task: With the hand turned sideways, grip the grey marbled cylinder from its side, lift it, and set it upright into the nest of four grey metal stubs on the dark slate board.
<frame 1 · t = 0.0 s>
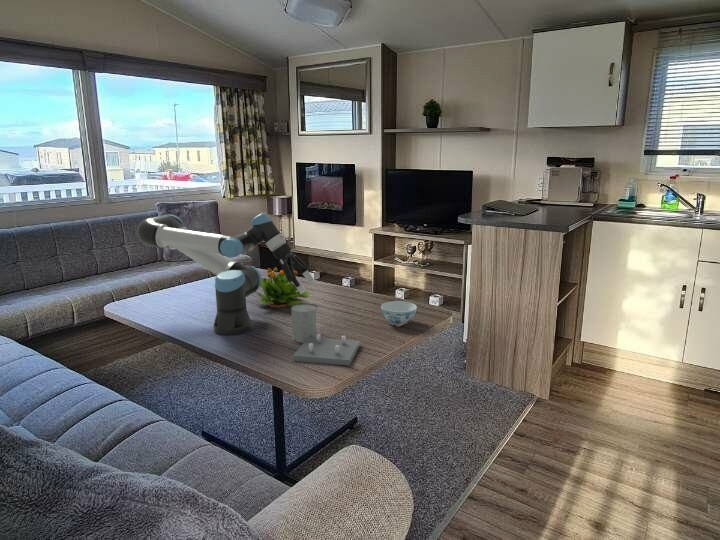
hand: (309, 288, 207), 15 cm above the table, tool tilted 35°, fingers open, 13 cm apart
stub board: (327, 353, 179), on the table
grey marbled cylinder: (304, 338, 194), on the table
potted flower: (277, 305, 236), on the table
chinaware: (398, 324, 210), on the table
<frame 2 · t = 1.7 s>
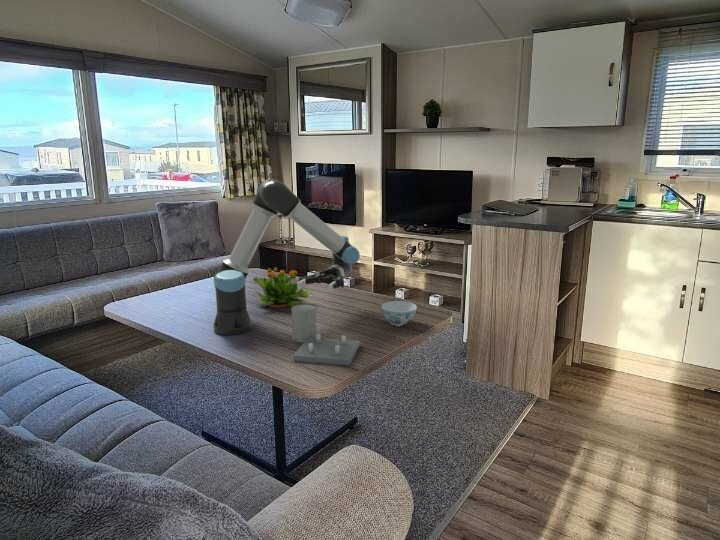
hand: (313, 287, 198), 18 cm above the table, tool horizontal, fingers open, 13 cm apart
nothing on the table moved.
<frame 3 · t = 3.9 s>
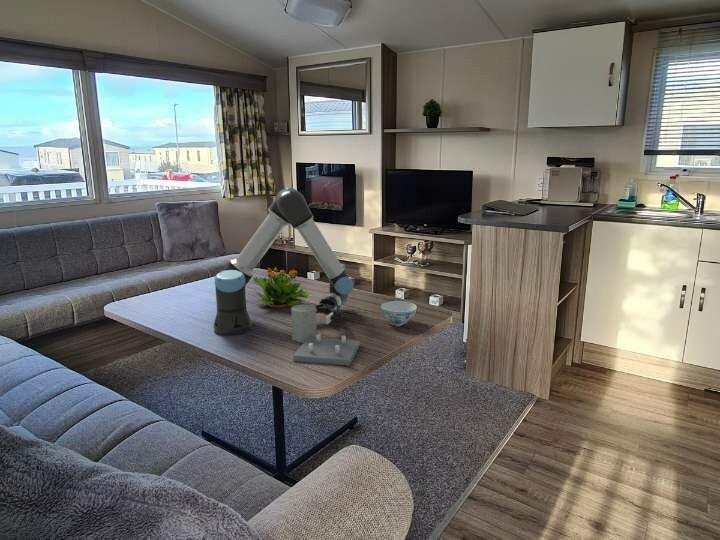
hand: (310, 319, 196), 6 cm above the table, tool horizontal, fingers open, 13 cm apart
nothing on the table moved.
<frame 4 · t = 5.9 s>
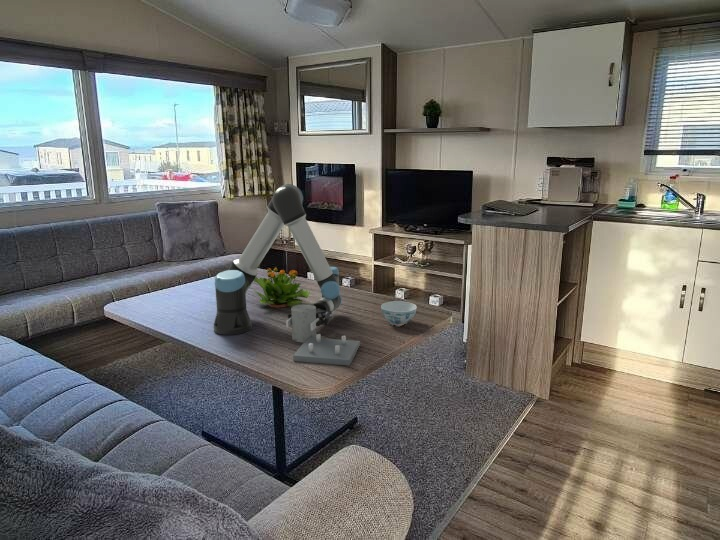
hand: (299, 325, 188), 7 cm above the table, tool horizontal, fingers closed on grey marbled cylinder, 9 cm apart
grey marbled cylinder: (304, 338, 194), on the table, touching gripper
everything else where it was.
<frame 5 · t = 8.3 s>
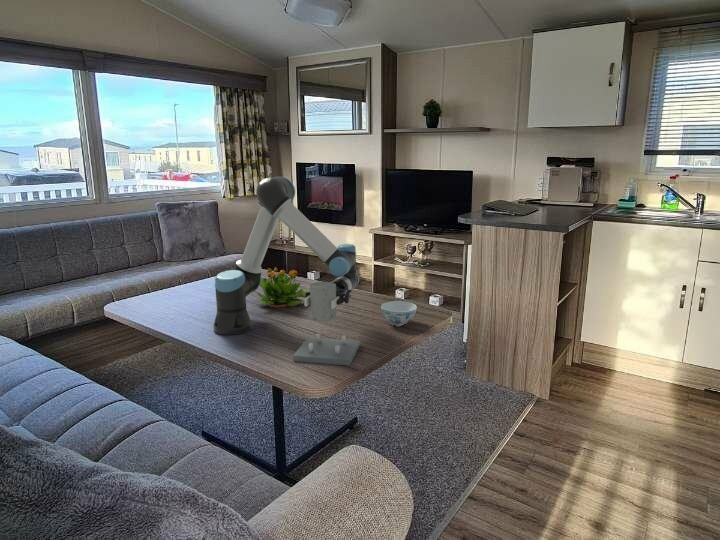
hand: (318, 303, 176), 18 cm above the table, tool horizontal, fingers closed on grey marbled cylinder, 9 cm apart
grey marbled cylinder: (323, 318, 181), point 11 cm above the table, touching gripper
everything else where it was.
when the fingers open (10 cm above the table, at t = 10.7 s): grey marbled cylinder drops 1 cm, resting on stub board.
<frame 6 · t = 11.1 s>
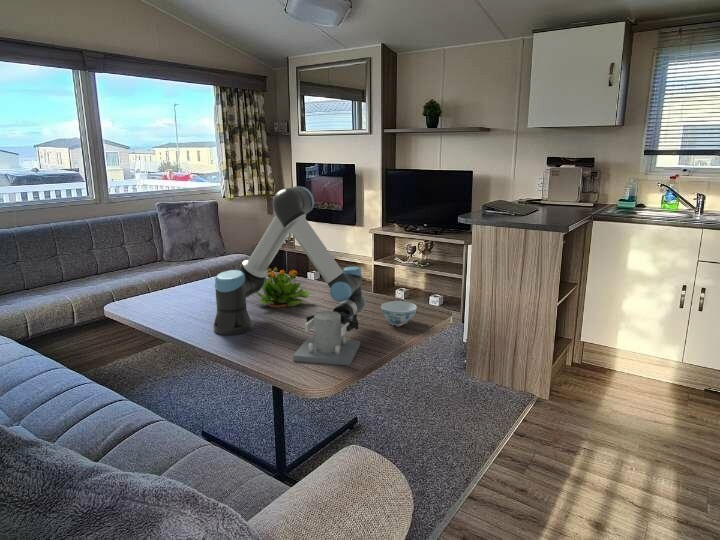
hand: (323, 330, 173), 10 cm above the table, tool horizontal, fingers open, 13 cm apart
grey marbled cylinder: (327, 348, 178), point 2 cm above the table, touching stub board
everything else where it was.
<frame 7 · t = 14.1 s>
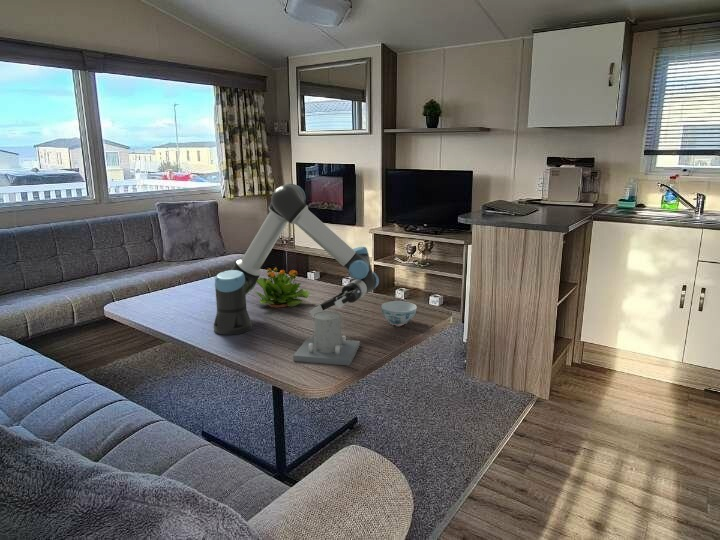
hand: (323, 310, 186), 13 cm above the table, tool horizontal, fingers open, 13 cm apart
nothing on the table moved.
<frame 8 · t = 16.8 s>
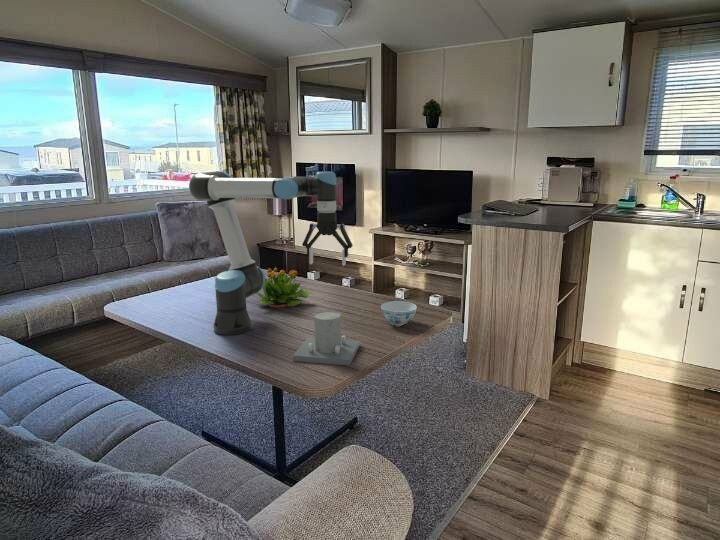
hand: (327, 264, 200), 27 cm above the table, tool pointing down, fingers open, 13 cm apart
nothing on the table moved.
at the end: grey marbled cylinder 0.1 cm off-centre on the stub board, point 1.8 cm above the stub board's base; grey marbled cylinder tilted 0°; the gripper is holding nothing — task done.
